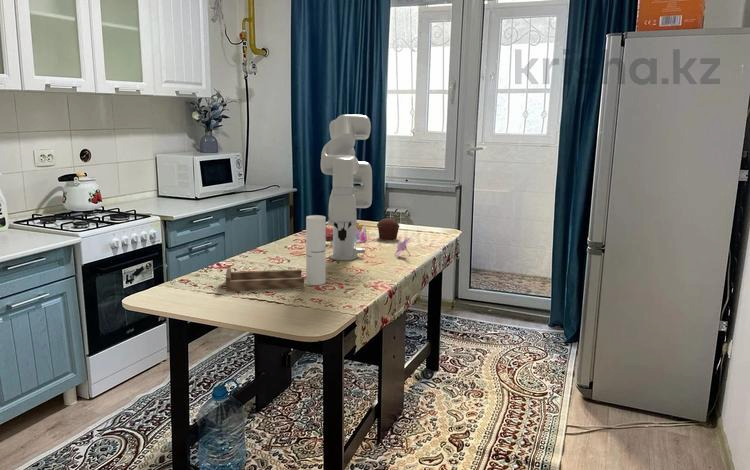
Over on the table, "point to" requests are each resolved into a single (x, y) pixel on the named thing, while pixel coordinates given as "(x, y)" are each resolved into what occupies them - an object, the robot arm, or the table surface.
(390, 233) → the muffin
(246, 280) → the U-rest
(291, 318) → the table surface
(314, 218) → the cylindrical container
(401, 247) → the lily
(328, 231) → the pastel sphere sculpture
